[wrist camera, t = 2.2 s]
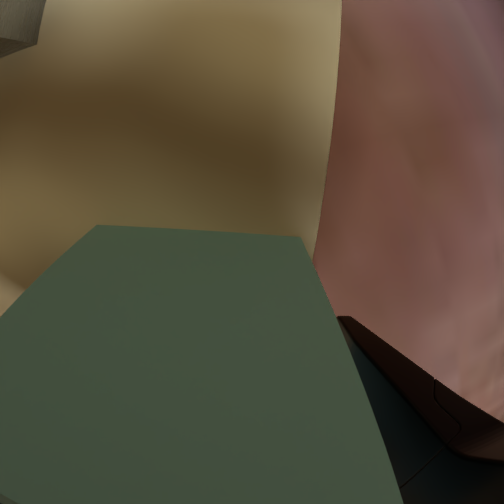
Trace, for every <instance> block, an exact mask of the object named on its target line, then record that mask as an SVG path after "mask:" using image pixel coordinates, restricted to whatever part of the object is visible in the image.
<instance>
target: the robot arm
mask: <svg viewBox="0 0 504 504" xmlns="http://www.w3.org/2000/svg"><path fill="white" fill-rule="evenodd" d="M336 319H337V321H338V323H339V326H340V328H341V331H342V333H343V336H344V338H345V340H346V343H347V345H348V348H349V350H350V353H351V355H352V358H353V360H354V363H355V366H356V368H357V371H358V373H359V376H360V378H361V381H362V384H363V386H364V389H365V392H366V394H367V397H368V400H369V402H370V405H371V408H372V411H373V413H374V416H375V419H376V422H377V424H378V427H379V430H380V433H381V436H382V439H383V442H384V444H385V447H386V450H387V453H388V456H389V459H390V462H391V465H392V468H393V471H394V475H395V478H396V481H397V484H398V487H399V490H400V494H401V497H402V500H403V504H504V423H503V422H501V421H499V420H498V419H496V418H494V417H493V416H491V415H489V414H488V413H486V412H485V411H483V410H481V409H480V408H478V407H476V406H475V405H473V404H471V403H470V402H468V401H467V400H465V399H464V398H462V397H461V396H459V395H457V394H456V393H455V392H453V391H452V390H450V389H449V388H448V387H446V386H445V385H443V384H442V383H441V382H439V381H438V380H437V379H435V380H434V377H433V376H431V375H430V374H428V373H427V372H426V371H424V370H423V369H422V368H420V367H419V366H418V365H416V364H415V363H414V362H412V361H411V360H409V359H408V358H407V357H405V356H404V355H403V354H401V353H400V352H399V351H397V350H396V349H395V348H393V347H392V346H390V345H389V344H388V343H386V342H385V341H384V340H382V339H381V338H380V337H378V336H377V335H375V334H374V333H373V332H371V331H370V330H369V329H367V328H366V327H365V326H363V325H362V324H360V323H359V322H358V321H356V320H355V319H354V318H352V317H351V316H337V317H336ZM0 504H1V503H0Z"/></svg>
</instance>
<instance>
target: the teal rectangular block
mask: <svg viewBox="0 0 504 504" xmlns="http://www.w3.org/2000/svg"><path fill="white" fill-rule="evenodd" d="M0 503H1V504H403V500H402V497H401V494H400V490H399V487H398V484H397V481H396V478H395V475H394V471H393V468H392V465H391V462H390V459H389V456H388V453H387V450H386V447H385V444H384V442H383V439H382V436H381V433H380V430H379V427H378V424H377V422H376V419H375V416H374V413H373V411H372V408H371V405H370V402H369V400H368V397H367V394H366V392H365V389H364V386H363V384H362V381H361V378H360V376H359V373H358V371H357V368H356V366H355V363H354V360H353V358H352V355H351V353H350V350H349V348H348V345H347V343H346V340H345V338H344V336H343V333H342V331H341V328H340V326H339V323H338V321H337V319H336V316H335V314H334V311H333V309H332V307H331V304H330V302H329V300H328V297H327V295H326V293H325V290H324V288H323V286H322V283H321V281H320V279H319V277H318V274H317V272H316V270H315V268H314V265H313V263H312V261H311V259H310V256H309V254H308V252H307V250H306V248H305V245H304V243H303V241H302V239H301V237H294V236H280V235H266V234H251V233H236V232H221V231H205V230H188V229H171V228H153V227H133V226H112V225H96V226H95V227H93V228H92V229H91V230H90V231H89V232H88V233H86V234H85V235H84V236H83V237H82V238H81V239H79V240H78V241H77V242H76V243H75V244H74V245H73V246H71V247H70V248H69V249H68V250H67V251H66V252H65V253H64V254H63V255H61V256H60V257H59V258H58V259H57V260H56V261H55V262H54V263H53V264H52V265H51V266H50V267H49V268H47V269H46V270H45V271H44V272H43V273H42V274H41V275H40V276H39V277H38V278H37V279H36V280H35V281H34V282H33V283H32V284H31V285H30V286H29V287H28V288H27V289H26V290H25V291H24V292H23V293H22V294H21V295H20V296H19V297H18V298H17V299H16V301H15V302H14V303H13V304H12V305H11V306H10V307H9V308H8V309H7V310H6V311H5V312H4V313H3V315H2V316H1V317H0Z"/></svg>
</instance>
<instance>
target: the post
mask: <svg viewBox="0 0 504 504" xmlns="http://www.w3.org/2000/svg"><path fill="white" fill-rule="evenodd" d="M45 3H46V0H0V58H2V57H5V56H7V55H10V54H12V53H15V52H18V51H20V50H23V49H26V48H29V47H32V46H35V45H37V42H38V36H39V30H40V25H41V20H42V16H43V11H44V7H45Z"/></svg>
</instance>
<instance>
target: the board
mask: <svg viewBox="0 0 504 504" xmlns="http://www.w3.org/2000/svg"><path fill="white" fill-rule="evenodd" d="M341 9H342V0H46V3H45V7H44V11H43V16H42V20H41V25H40V30H39V36H38V42H37V45H35V46H32V47H29V48H26V49H23V50H20V51H18V52H15V53H12V54H10V55H7V56H5V57H2V58H0V317H1V316H2V315H3V313H4V312H5V311H6V310H7V309H8V308H9V307H10V306H11V305H12V304H13V303H14V302H15V301H16V299H17V298H18V297H19V296H20V295H21V294H22V293H23V292H24V291H25V290H26V289H27V288H28V287H29V286H30V285H31V284H32V283H33V282H34V281H35V280H36V279H37V278H38V277H39V276H40V275H41V274H42V273H43V272H44V271H45V270H46V269H47V268H49V267H50V266H51V265H52V264H53V263H54V262H55V261H56V260H57V259H58V258H59V257H60V256H61V255H63V254H64V253H65V252H66V251H67V250H68V249H69V248H70V247H71V246H73V245H74V244H75V243H76V242H77V241H78V240H79V239H81V238H82V237H83V236H84V235H85V234H86V233H88V232H89V231H90V230H91V229H92V228H93V227H95V226H96V225H112V226H133V227H153V228H171V229H188V230H205V231H221V232H236V233H251V234H266V235H280V236H294V237H301V239H302V241H303V243H304V245H305V248H306V250H307V252H308V254H309V256H310V259H311V261H312V260H313V255H314V249H315V243H316V237H317V232H318V226H319V220H320V213H321V207H322V201H323V194H324V187H325V180H326V173H327V166H328V158H329V150H330V142H331V134H332V125H333V116H334V107H335V97H336V86H337V74H338V62H339V47H340V30H341Z"/></svg>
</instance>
